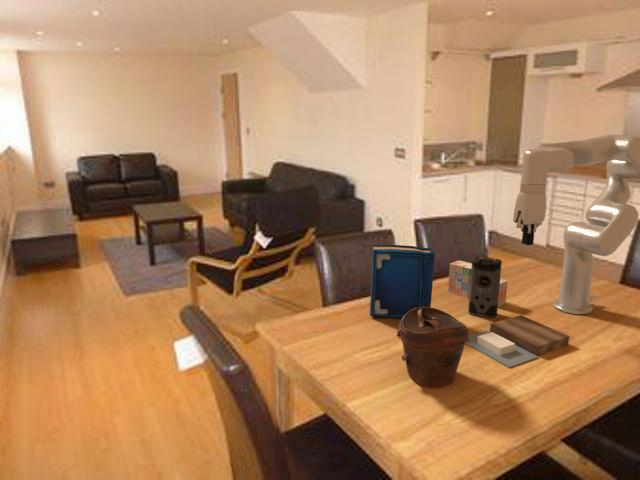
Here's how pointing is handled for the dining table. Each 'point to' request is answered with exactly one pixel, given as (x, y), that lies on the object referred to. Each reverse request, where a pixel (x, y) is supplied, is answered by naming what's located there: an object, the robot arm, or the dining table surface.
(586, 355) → the dining table surface
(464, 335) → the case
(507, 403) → the dining table surface
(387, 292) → the book
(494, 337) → the tile
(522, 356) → the mat
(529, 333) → the plate
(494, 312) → the electronic device
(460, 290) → the stack of blocks
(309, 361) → the dining table surface
